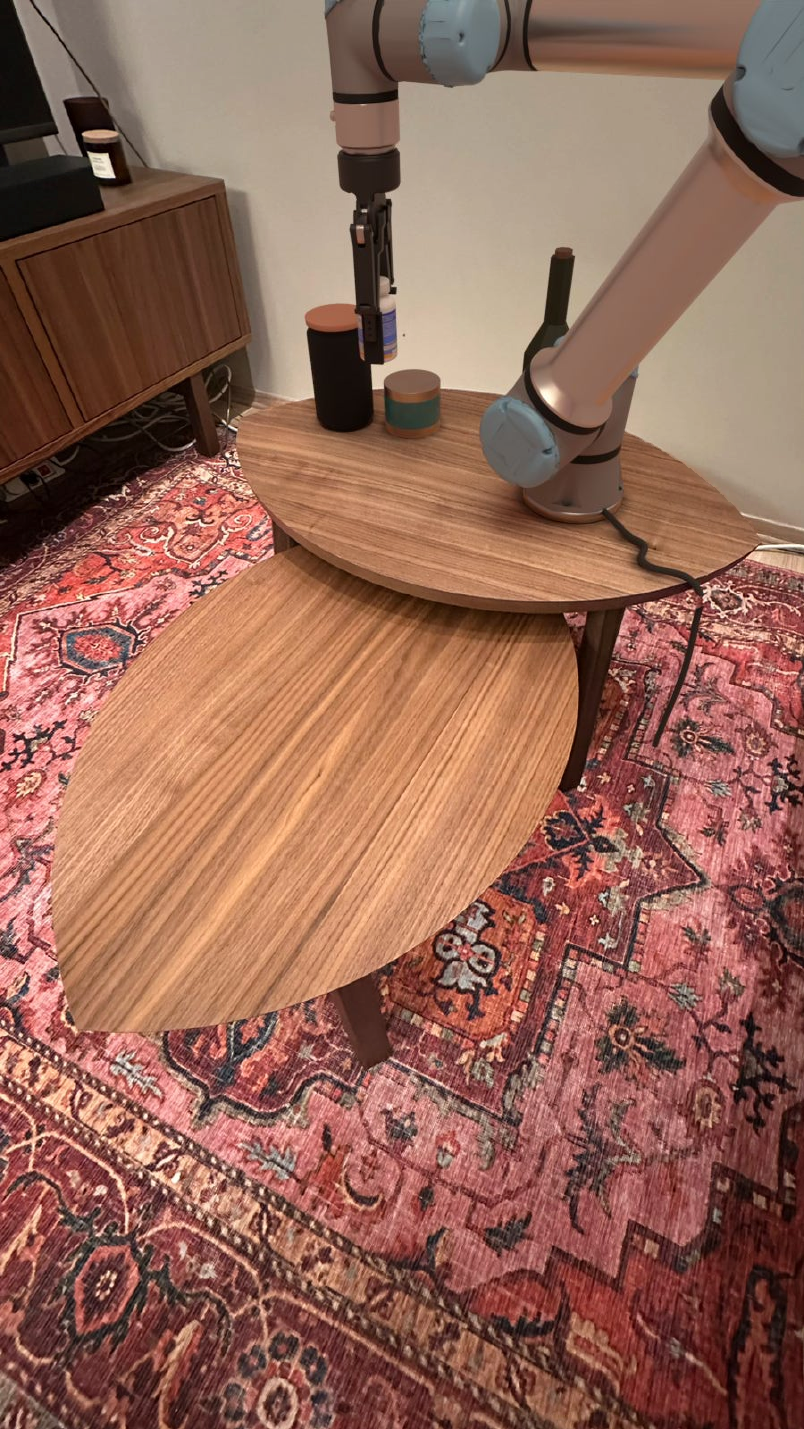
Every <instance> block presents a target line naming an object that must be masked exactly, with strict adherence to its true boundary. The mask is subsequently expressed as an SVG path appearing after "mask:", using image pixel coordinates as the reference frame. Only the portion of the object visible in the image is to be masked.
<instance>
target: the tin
mask: <svg viewBox="0 0 804 1429" xmlns="http://www.w3.org/2000/svg"><path fill="white" fill-rule="evenodd" d="M441 382H442V380H441V378H440V376H439V375H438V374H436V372H433V371H430V370H427V369H421V368H420V369H419V368H410V369H409V368H408V369H401V370H397V371H394V372H392V373H389V374H388V375H386V377H384V379H383V404H384V406H383V407H384V421H385V428H386V431H387V432H388V433H389V434H391V435H393V436H394V437H398V438H401V439H409V440H410V439H412V440H413V439H423V438H425V437H429V436H432V435H433V434H435V433H437V431H439V429H440V428H441V414H442V413H441V410H442V409H441V408H442V406H441V405H442V401H441V400H442V389H441V386H442V384H441Z"/></svg>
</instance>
